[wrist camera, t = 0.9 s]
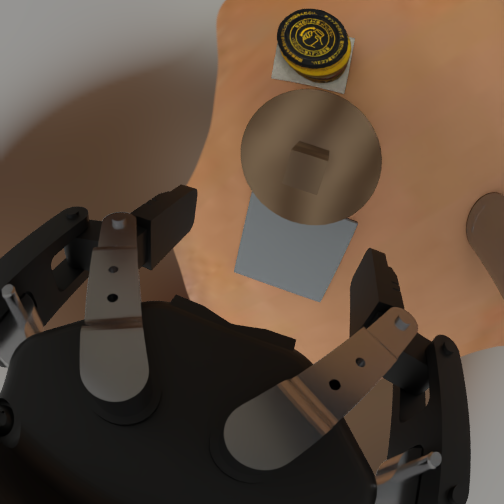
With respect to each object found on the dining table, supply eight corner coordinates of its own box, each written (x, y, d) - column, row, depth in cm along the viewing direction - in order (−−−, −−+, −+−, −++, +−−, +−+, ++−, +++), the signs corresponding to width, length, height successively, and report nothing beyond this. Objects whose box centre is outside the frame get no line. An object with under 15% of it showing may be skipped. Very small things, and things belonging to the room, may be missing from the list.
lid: (397, 118, 21) (415, 124, 16) (351, 237, 29) (353, 269, 24) (259, 75, 23) (239, 69, 18) (233, 197, 31) (211, 220, 26)
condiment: (344, 94, 25) (350, 88, 16) (271, 78, 27) (236, 67, 17) (354, 39, 21) (364, 5, 11) (281, 24, 23) (250, -11, 13)
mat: (357, 222, 33) (357, 224, 32) (320, 299, 41) (320, 302, 40) (254, 186, 34) (252, 188, 34) (235, 269, 42) (233, 271, 42)
